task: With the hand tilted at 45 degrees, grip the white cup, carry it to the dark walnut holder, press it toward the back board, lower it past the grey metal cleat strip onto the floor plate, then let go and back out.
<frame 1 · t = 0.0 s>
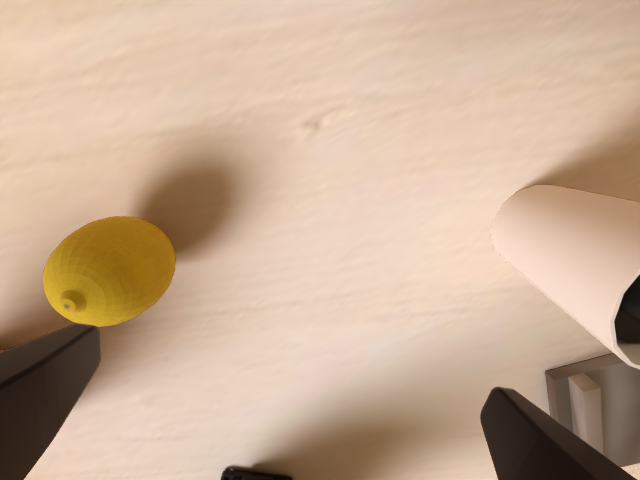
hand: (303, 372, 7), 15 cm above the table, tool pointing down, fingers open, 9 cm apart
glass holder: (634, 403, 27), on the table
lemon: (153, 241, 22), on the table
white cup: (531, 225, 22), on the table
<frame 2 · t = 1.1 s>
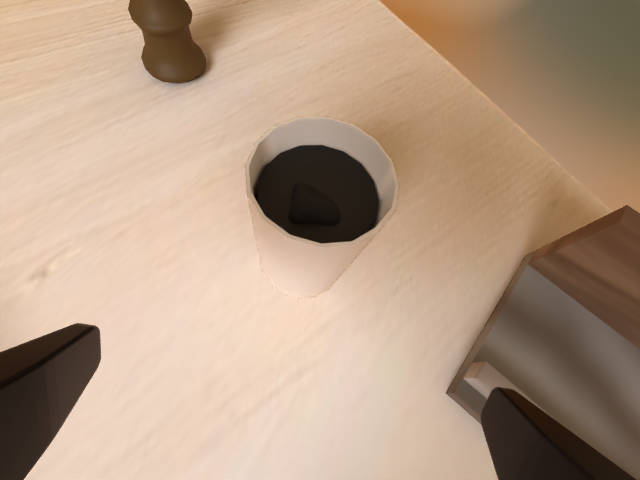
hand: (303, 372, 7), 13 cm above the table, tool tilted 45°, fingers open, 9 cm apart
glass holder: (565, 371, 22), on the table
kendama: (177, 68, 28), on the table
white cup: (301, 259, 23), on the table
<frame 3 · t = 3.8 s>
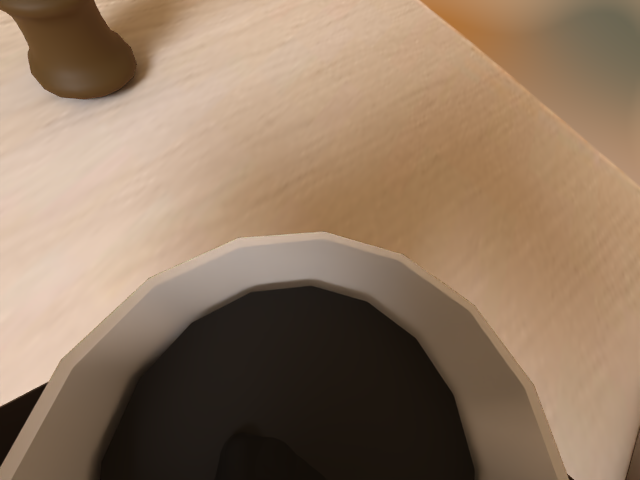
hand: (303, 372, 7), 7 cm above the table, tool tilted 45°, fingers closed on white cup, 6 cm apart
kendama: (92, 76, 18), on the table
white cup: (279, 417, 13), on the table, touching gripper
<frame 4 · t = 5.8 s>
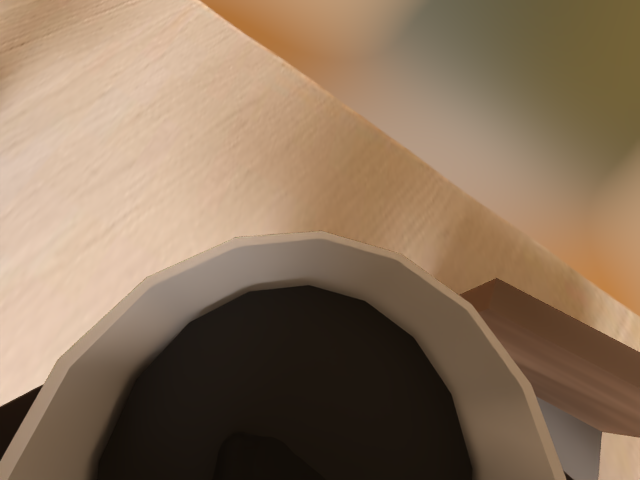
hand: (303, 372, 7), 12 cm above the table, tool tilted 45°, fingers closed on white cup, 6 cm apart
glass holder: (479, 460, 18), on the table
white cup: (278, 416, 13), point 5 cm above the table, touching gripper
when the fingers open (9 cm above the table, at t = 8.1 s): white cup drops 1 cm, resting on glass holder.
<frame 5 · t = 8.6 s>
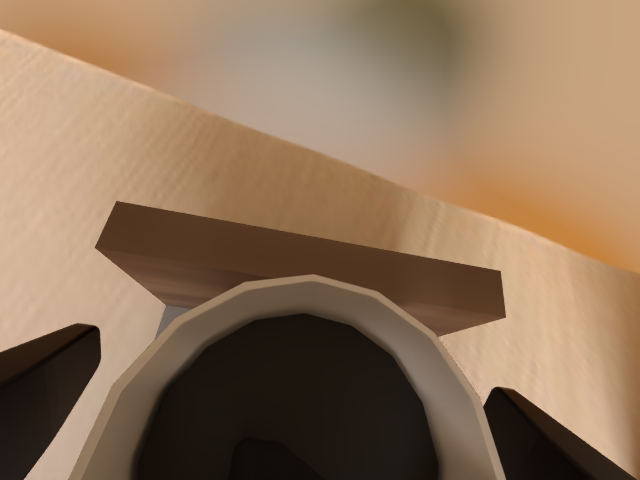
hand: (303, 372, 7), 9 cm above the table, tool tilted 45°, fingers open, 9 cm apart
glass holder: (274, 432, 15), on the table
white cup: (280, 419, 14), point 1 cm above the table, touching glass holder
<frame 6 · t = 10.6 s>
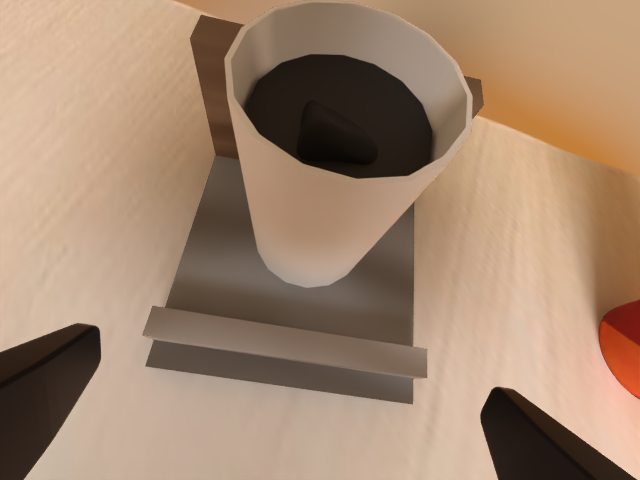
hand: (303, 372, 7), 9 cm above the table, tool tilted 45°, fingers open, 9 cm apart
glass holder: (304, 252, 18), on the table
white cup: (309, 237, 18), point 1 cm above the table, touching glass holder
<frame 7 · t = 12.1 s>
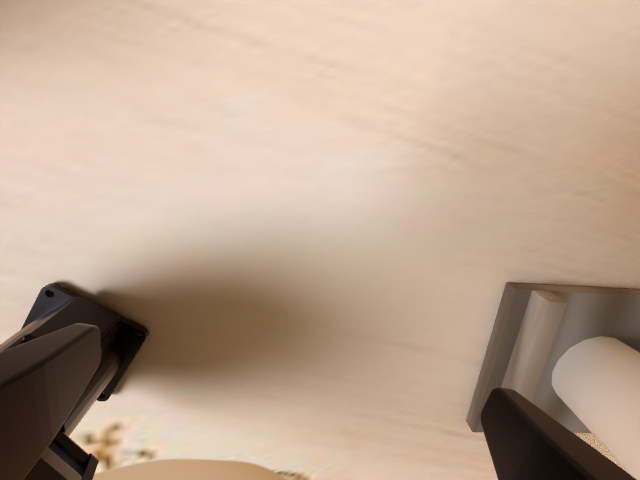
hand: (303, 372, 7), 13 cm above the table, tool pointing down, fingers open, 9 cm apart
glass holder: (572, 359, 24), on the table
white cup: (588, 368, 24), point 1 cm above the table, touching glass holder
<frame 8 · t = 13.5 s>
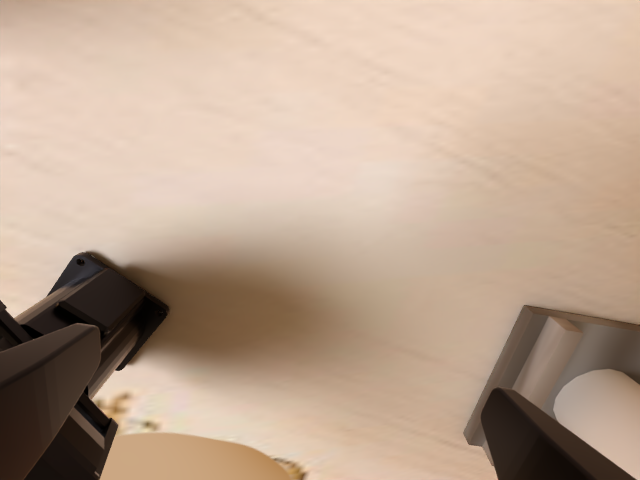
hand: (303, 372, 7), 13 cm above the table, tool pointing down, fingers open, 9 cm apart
glass holder: (576, 387, 25), on the table
white cup: (591, 398, 24), point 1 cm above the table, touching glass holder
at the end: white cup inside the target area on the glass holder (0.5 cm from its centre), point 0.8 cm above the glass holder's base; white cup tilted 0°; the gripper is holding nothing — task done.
